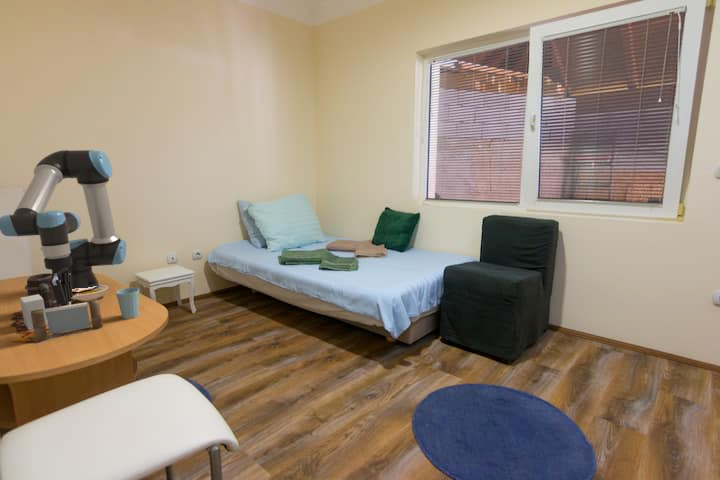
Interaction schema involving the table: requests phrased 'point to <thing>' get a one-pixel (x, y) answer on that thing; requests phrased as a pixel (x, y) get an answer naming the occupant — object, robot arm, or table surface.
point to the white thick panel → (67, 318)
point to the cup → (128, 302)
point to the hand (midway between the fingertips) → (68, 319)
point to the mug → (42, 289)
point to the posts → (41, 332)
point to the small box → (31, 308)
